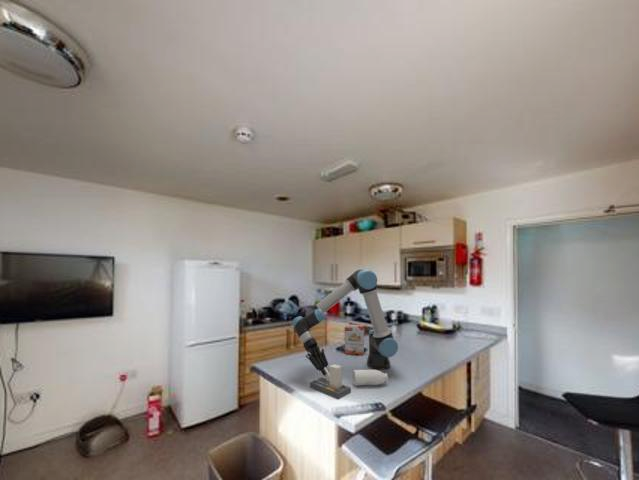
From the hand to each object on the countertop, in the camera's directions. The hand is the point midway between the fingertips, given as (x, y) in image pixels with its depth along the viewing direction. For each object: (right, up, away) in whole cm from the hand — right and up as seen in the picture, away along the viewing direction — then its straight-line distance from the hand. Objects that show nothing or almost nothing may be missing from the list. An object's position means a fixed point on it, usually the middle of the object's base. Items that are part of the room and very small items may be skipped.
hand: (330, 380), depth 145 cm
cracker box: (+21, -12, +61) cm, 66 cm away
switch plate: (0, -5, 0) cm, 5 cm away
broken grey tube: (+22, -6, +7) cm, 23 cm away
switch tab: (+3, -2, -3) cm, 4 cm away
